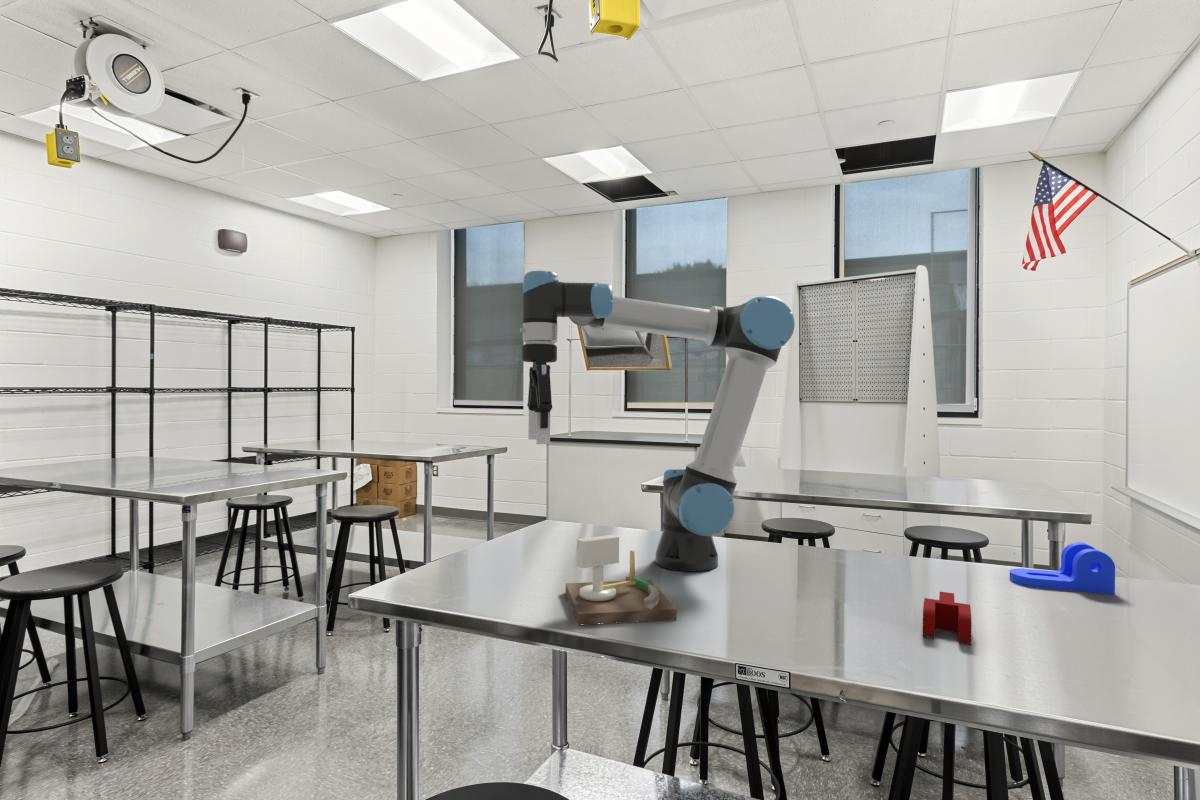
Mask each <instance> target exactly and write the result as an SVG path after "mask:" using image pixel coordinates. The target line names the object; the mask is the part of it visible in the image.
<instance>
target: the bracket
mask: <svg viewBox="0 0 1200 800" xmlns="http://www.w3.org/2000/svg"><path fill="white" fill-rule="evenodd" d="M1060 556H1061V557H1060V568H1059V569H1058V570H1056V571H1055V570H1044V569H1031V568H1012V569H1010V570H1009V578H1008V579H1009V581H1010V582H1012V583H1014V584H1016V585H1020V586H1024V587H1029V588H1038V589H1049V590H1059V591H1071V592H1072V591H1073V592H1084V593H1096V594H1103V595H1104V594H1108V595H1115V594H1116V565H1115V562H1114V560H1113V559H1112V557H1111V556H1109V555H1108V554H1106V553H1105V552H1103V551H1100V550H1098V549H1096V548H1095V547H1093V546H1091V545H1089V544H1088V543H1085V542H1077V541H1076V542H1072V543H1069V544H1068V545H1066V546H1065V547H1064V548H1063V550H1062V551H1061V555H1060Z"/></svg>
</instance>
